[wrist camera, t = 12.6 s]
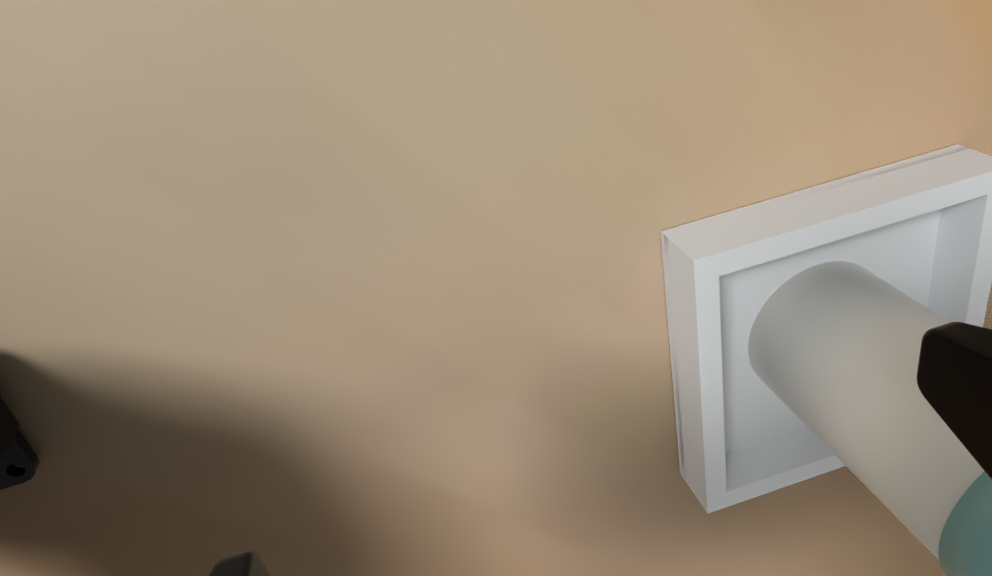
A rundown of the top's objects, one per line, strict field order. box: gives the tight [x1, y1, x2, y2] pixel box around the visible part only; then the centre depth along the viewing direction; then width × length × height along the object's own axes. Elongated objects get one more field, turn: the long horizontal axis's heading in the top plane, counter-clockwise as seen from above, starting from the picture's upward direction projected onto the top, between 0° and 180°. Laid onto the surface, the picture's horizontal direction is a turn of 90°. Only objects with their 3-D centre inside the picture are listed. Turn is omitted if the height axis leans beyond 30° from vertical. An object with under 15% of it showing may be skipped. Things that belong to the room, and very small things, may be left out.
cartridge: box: [748, 261, 992, 576], centre depth 20 cm, size 6×6×14 cm
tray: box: [661, 144, 992, 514], centre depth 26 cm, size 11×11×2 cm
